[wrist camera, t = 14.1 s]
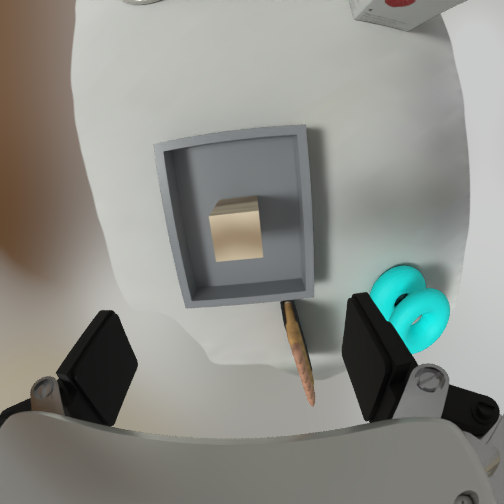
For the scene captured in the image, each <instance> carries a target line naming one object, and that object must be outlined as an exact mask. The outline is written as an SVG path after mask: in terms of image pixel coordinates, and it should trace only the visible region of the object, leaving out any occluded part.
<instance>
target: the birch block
mask: <svg viewBox="0 0 504 504" xmlns="http://www.w3.org/2000/svg"><path fill="white" fill-rule="evenodd" d="M209 221H210V227H211V234H212V240H213V246H214V252H215V258H216V262H220V261H231V260H241V259H252V258H262V257H263V249H262V238H261V228H260V218H259V208H258V199H257V196H247V197H238V198H229V199H221V200H219V201H218V202H217V204H216V205H215V207H214V209H213V210H212V212H211V214H210V215H209Z"/></svg>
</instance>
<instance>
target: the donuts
mask: <svg viewBox="0 0 504 504" xmlns="http://www.w3.org/2000/svg"><path fill="white" fill-rule="evenodd" d="M405 293H407V295H406V297H405V298H404V299H403V300H402V301H401V302H400V303H399V304H398V305H396V306H394V304H395V301H396V300H397V298H398V297H399V296H401V295H402V294H405ZM370 297H371V298H372V300H373V301H374V303H375V304H376V306H377V307H378V309H379V310H380V312H381V313H382V315H383V316H384V318H385V319H386V321H389V322H391V323H392V324H393V326H394V328H395V329H396V331H397V332H398V334H399V335H400V337H401V338H402V340H403V341H404V343H405V345H406V346H407V348H408V349H409V351H410V353H411V354H414V353H417V352H420V351H422V350H424V349H426V348H428V347H429V346H430V345H432V344H433V343H434V342H435V341H436V340H437V339H438V338H439V337H440V336H441V334H442V333H443V331H444V329H445V328H446V325H447V323H448V320H449V316H450V305H449V302H448V299H447V297H446V296H445V295H444V294H443V293H442V292H441V291H439V290H437V289H432V288H426V283H425V280H424V277H423V276H422V274H421V273H420V272H419V271H418V270H417V269H415V268H414V267H411V266H397V267H394V268H392V269H390V270H388V271H386V272H385V273H384V274H382V275H381V276H380V277H379V278H378V280H377V281H376V282H375V284H374V285H373V287H372V289H371V292H370ZM420 315H422V317H421V318H420V320H419V321H418V322H416V323H415V324H413V325H411V324H412V323H413V322H414V321H415V319H417V318H418V317H419V316H420Z"/></svg>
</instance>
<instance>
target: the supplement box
mask: <svg viewBox="0 0 504 504" xmlns="http://www.w3.org/2000/svg"><path fill="white" fill-rule="evenodd" d="M465 1H467V0H350V4H351V9H352V13H353V17H354V19H355V20H361V21H366V22H372V23H376V24H381V25H385V26H389V27H393V28H397V29H401V30H405V31H410V30H411V29H413V28H415V27H416V26H418V25H420V24H422V23H424V22H425V21H427V20H429V19H431V18H433V17H435V16H436V15H438V14H440V13H442V12H444V11H446V10H448V9H450V8H452V7H454V6H456V5H458V4H460V3H463V2H465Z"/></svg>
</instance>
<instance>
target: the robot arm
mask: <svg viewBox="0 0 504 504" xmlns="http://www.w3.org/2000/svg"><path fill="white" fill-rule="evenodd" d="M122 1H123V2H125V3H128V4H133V5H142V4H149V3H153V2H156V1H159V0H122ZM342 357H343V360H344V363H345V366H346V368H347V371H348V374H349V377H350V380H351V382H352V385H353V388H354V391H355V394H356V397H357V399H358V403H359V406H360V409H361V411H362V415H363V418H364V420H365V421H369V422H370V423H367V424H362V425H357V426H352V427H347V428H341V429H335V430H329V431H323V432H315V433H308V434H300V435H291V436H280V437H267V438H245V439H244V438H241V439H215V438H192V437H178V436H168V435H158V434H151V433H143V432H136V431H130V430H125V429H119V428H114V427H111V426H113V425H114V424H115V421H116V419H117V416H118V413H119V411H120V408H121V406H122V403H123V401H124V398H125V396H126V393H127V391H128V389H129V386H130V384H131V381H132V379H133V377H134V374H135V372H136V370H137V367H138V362H137V359H136V357H135V354H134V352H133V350H132V348H131V345H130V343H129V341H128V338H127V336H126V334H125V331H124V329H123V326H122V324H121V321H120V319H119V316H118V315H117V314H115V312H114V311H112V310H101V311H99V313H98V314H97V315H96V316H95V318H94V319H93V321H92V322H91V323H90V324H89V326H88V327H87V329H86V330H85V331H84V333H83V334H82V335H81V337H80V338H79V340H78V341H77V343H76V344H75V345H74V347H73V348H72V350H71V351H70V352H69V354H68V355H67V357H66V358H65V360H64V361H63V363H62V364H61V366H60V367H59V369H58V370H57V372H56V374H57V376H58V377H59V379H58V380H56V379H55V378H54V377H51V376H46V377H43V378H41V379H39V380H37V381H36V383H34V385H33V386H32V388H31V392H30V396H31V398H29V399H27V400H25V401H23V402H20V403H18V404H16V405H14V406H11V407H9V408H7V409H6V410H4V411H2V413H1V415H0V504H504V415H503V416H501V415H500V414H499V411H500V410H499V407H498V405H497V403H496V402H495V401H494V400H493V399H492V398H490V397H488V396H485V395H482V394H478V393H475V392H472V391H468V390H465V389H462V388H459V387H456V386H453V385H450V384H449V377H448V374H447V373H446V372H445V370H444V369H442V368H441V367H439V366H437V365H435V364H422V365H419V366H418V364H417V362H416V361H415V359H414V357H413V356H412V354H411V353H410V351H409V349H408V348H407V346H406V345H405V343H404V341H403V340H402V338H401V337H400V335H399V334H398V332H397V331H396V329H395V328H394V326H393V324H392V323H391V322H389V321H386V319H385V318H384V316H383V315H382V313H381V312H380V310H379V309H378V307H377V306H376V304H375V303H374V301H373V300H372V298H371V297H370V295H369V294H368V293H367V292H364V293H356V294H353V295H352V298H349V299H348V301H347V311H346V320H345V329H344V336H343V344H342Z"/></svg>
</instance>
